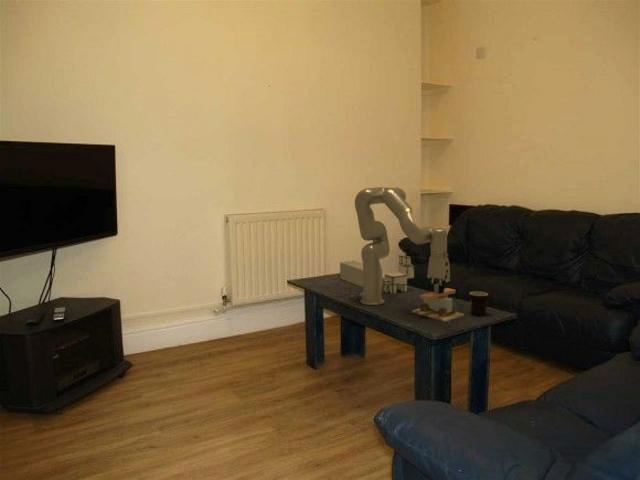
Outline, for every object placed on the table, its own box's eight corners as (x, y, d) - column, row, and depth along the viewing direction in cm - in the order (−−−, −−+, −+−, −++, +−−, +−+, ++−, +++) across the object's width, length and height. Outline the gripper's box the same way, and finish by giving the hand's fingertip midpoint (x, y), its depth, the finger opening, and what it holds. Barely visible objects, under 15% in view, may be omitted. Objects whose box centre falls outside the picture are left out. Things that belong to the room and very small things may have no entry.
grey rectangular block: (340, 278, 328) (339, 262, 326) (354, 276, 333) (354, 260, 331) (367, 289, 300) (367, 271, 298) (382, 286, 304) (382, 269, 303)
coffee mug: (485, 317, 241) (486, 296, 239) (467, 315, 245) (467, 294, 243) (490, 311, 251) (491, 291, 249) (472, 308, 255) (473, 289, 253)
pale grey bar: (423, 306, 251) (423, 294, 250) (428, 305, 254) (428, 293, 253) (447, 312, 240) (447, 300, 240) (452, 311, 243) (452, 298, 242)
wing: (420, 300, 242) (420, 286, 241) (447, 293, 254) (447, 280, 253) (428, 303, 238) (428, 288, 237) (455, 295, 250) (455, 281, 249)
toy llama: (381, 292, 291) (381, 257, 288) (405, 288, 299) (405, 254, 296) (389, 295, 284) (389, 259, 281) (413, 290, 293) (414, 256, 290)
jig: (412, 312, 251) (412, 303, 250) (431, 307, 259) (431, 298, 259) (445, 321, 235) (445, 312, 235) (464, 315, 244) (464, 306, 243)
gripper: (457, 255, 239) (457, 294, 242) (430, 251, 252) (430, 288, 254) (447, 257, 234) (446, 296, 237) (420, 253, 247) (419, 290, 250)
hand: (438, 291), depth 246 cm, fingers closed on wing, 3 cm apart
